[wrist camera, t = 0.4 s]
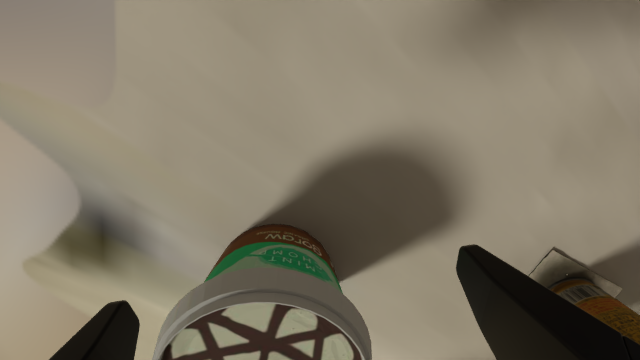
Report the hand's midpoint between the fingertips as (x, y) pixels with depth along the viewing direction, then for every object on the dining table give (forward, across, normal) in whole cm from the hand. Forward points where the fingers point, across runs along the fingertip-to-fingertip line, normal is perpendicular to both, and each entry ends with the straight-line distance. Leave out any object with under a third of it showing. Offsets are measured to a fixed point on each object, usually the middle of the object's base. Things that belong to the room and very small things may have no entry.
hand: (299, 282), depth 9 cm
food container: (+13, +2, +11) cm, 17 cm away
